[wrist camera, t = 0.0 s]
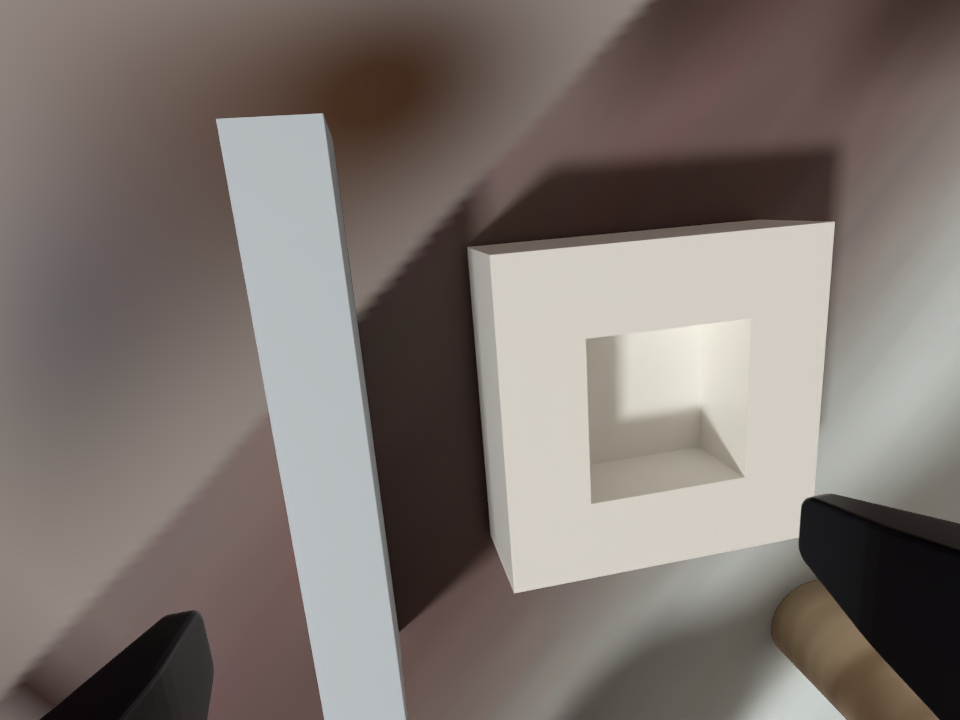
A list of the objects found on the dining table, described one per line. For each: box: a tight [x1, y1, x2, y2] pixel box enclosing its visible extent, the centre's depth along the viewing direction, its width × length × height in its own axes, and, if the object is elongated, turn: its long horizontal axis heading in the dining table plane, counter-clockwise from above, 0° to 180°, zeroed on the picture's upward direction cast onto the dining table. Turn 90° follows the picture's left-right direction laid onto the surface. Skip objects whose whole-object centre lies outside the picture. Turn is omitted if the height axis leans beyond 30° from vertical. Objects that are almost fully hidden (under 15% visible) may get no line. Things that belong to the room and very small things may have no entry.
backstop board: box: [216, 113, 407, 720], centre depth 20 cm, size 20×2×6 cm, turn 4°
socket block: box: [467, 220, 835, 593], centre depth 23 cm, size 12×12×4 cm
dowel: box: [772, 580, 939, 720], centre depth 26 cm, size 4×4×9 cm
